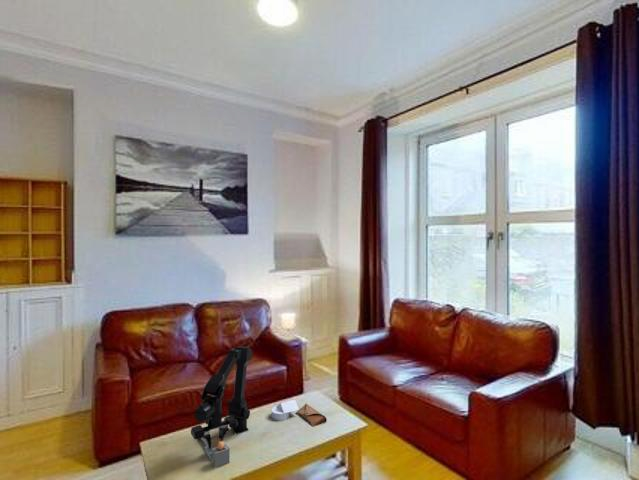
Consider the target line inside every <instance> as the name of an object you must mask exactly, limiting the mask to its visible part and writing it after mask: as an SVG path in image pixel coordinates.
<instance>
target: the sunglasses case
mask: <svg viewBox="0 0 639 480" xmlns="http://www.w3.org/2000/svg"><path fill="white" fill-rule="evenodd" d="M297 414H298V415H297ZM295 415H297V416H299V415H300V416H299V417H300V418H302V419H303V418H304V419H303V420H304V421H306V422H307V423H308V424H310V425H311V427H316V426H319V425H320V426H321V425H322V423H323V424H325V423H324V422H326V423H327V421H328V420H327V417H326V416H325V415H323V414H322V413H321V412H319V411H318V410H316V409H315V408H313V407H312V406H310V405H308V403H305V404H304V405H302V407H300V408H299V410H296V412H295Z"/></svg>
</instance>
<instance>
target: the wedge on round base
mask: <svg viewBox="0 0 639 480" xmlns="http://www.w3.org/2000/svg"><path fill="white" fill-rule="evenodd" d="M299 409H300V407H299V406H298V404H297V401H296V399H292V400H287V401H284V402H280V403H279V404H278V405H276V406H273V407H272V408H271V419H273V420H275V421H284V420H287V419H288V418H290V412H294V411H298V410H299Z"/></svg>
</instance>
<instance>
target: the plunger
mask: <svg viewBox="0 0 639 480" xmlns="http://www.w3.org/2000/svg"><path fill="white" fill-rule="evenodd" d="M223 447H224V441H223V440H222V441H220V442H218V451H222V450H223Z"/></svg>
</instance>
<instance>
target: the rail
mask: <svg viewBox="0 0 639 480" xmlns="http://www.w3.org/2000/svg"><path fill="white" fill-rule="evenodd" d="M196 440H197V441H200V442H201V444H202V445H203V447H204V448H205V447H206V446H208V444H207V441H206V439H204V438H200V439H196Z"/></svg>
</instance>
